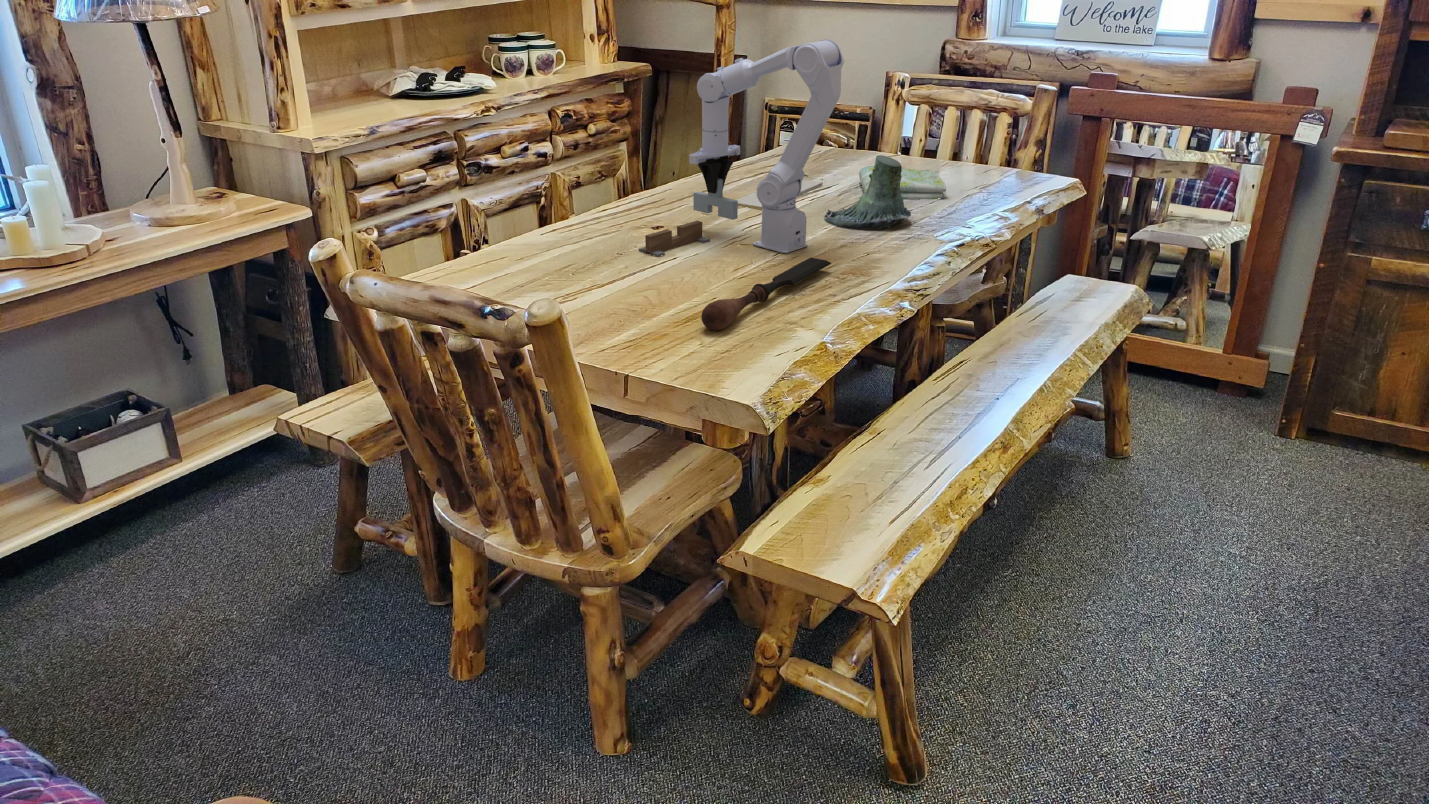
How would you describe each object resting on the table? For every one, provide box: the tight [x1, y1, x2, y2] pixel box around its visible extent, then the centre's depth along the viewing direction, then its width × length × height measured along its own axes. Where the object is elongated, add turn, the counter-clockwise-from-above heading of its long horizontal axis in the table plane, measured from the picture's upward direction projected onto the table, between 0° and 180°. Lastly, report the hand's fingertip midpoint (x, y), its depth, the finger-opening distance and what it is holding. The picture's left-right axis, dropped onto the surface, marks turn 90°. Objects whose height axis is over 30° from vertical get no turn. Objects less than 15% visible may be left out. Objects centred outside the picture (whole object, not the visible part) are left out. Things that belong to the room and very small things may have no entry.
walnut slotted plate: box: [638, 220, 711, 258], centre depth 223 cm, size 6×16×4 cm, turn 137°
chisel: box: [700, 257, 832, 331], centre depth 192 cm, size 5×43×5 cm, turn 147°
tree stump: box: [823, 154, 912, 230], centre depth 240 cm, size 18×20×18 cm
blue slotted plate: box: [692, 178, 739, 220], centre depth 228 cm, size 12×2×8 cm, turn 47°
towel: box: [858, 165, 947, 200], centre depth 269 cm, size 18×21×5 cm
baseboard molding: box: [736, 174, 824, 211], centre depth 266 cm, size 31×3×12 cm
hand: (715, 191), depth 228 cm, fingers closed on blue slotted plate, 2 cm apart
